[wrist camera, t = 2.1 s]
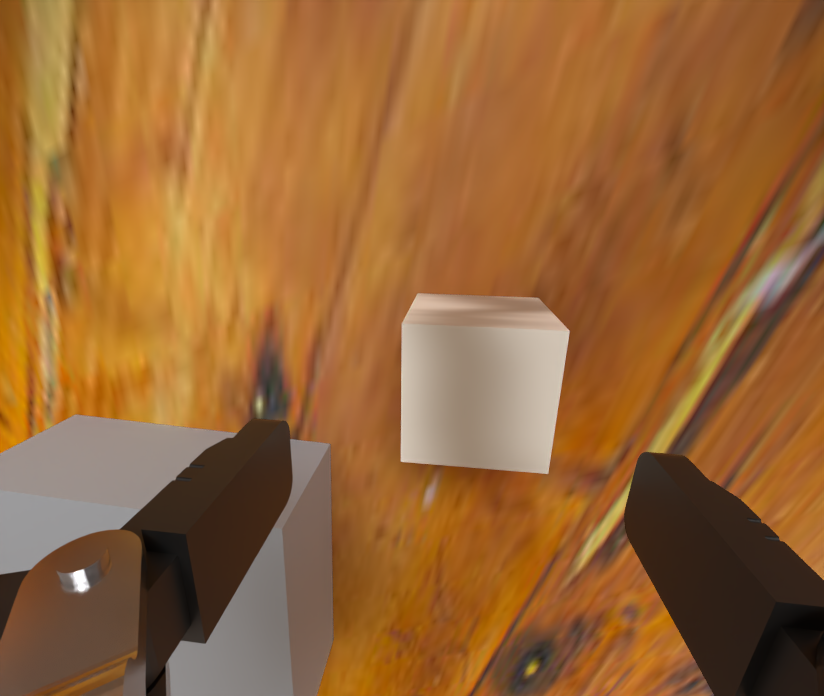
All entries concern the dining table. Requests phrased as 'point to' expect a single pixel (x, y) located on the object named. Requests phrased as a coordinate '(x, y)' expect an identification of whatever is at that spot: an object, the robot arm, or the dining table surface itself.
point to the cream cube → (481, 381)
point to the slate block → (137, 485)
